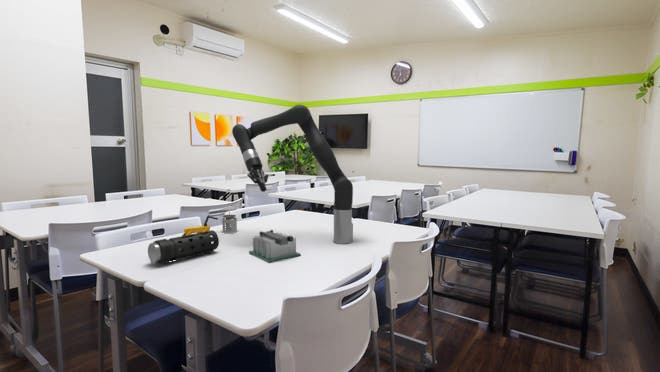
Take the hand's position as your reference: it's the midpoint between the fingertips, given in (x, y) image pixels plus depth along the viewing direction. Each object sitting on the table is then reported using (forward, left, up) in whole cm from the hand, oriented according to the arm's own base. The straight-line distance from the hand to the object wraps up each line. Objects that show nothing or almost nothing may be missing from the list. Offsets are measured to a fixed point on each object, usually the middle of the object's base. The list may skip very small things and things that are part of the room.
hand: (264, 190), depth 168 cm
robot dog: (+20, -29, -28) cm, 45 cm away
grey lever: (+2, +13, -21) cm, 25 cm away
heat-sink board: (+2, +12, -28) cm, 30 cm away
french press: (0, -41, -28) cm, 50 cm away
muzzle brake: (+35, -7, -28) cm, 46 cm away
